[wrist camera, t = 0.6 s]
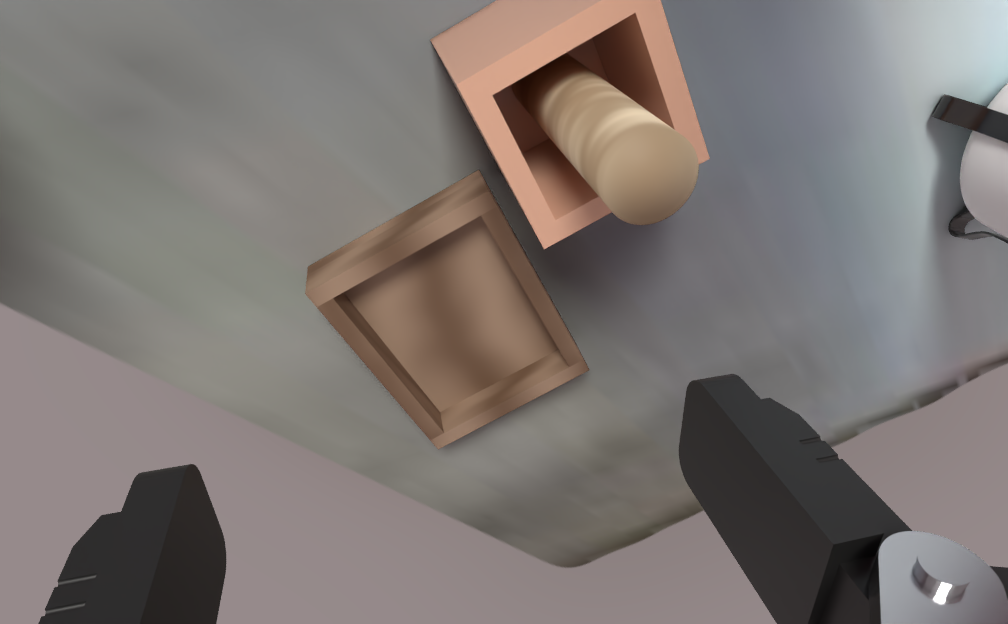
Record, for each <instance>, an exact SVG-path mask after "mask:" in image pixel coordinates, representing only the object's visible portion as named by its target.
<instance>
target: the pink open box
mask: <svg viewBox="0 0 1008 624" xmlns="http://www.w3.org/2000/svg"><path fill="white" fill-rule="evenodd" d="M431 42H432V44H433V46H434V48H435V50H436V51H437V53H438V55H439V57H440V59H441V61H442V63H443V65H444V66H445V68H446V70H447V72H448V74H449V76H450V78H451V79H452V81H453V83H454V85H455V87H456V89H457V91H458V93H459V94H460V96H461V98H462V100H463V102H464V104H465V106H466V107H467V109H468V111H469V113H470V115H471V117H472V119H473V121H474V122H475V124H476V126H477V128H478V130H479V132H480V134H481V135H482V137H483V139H484V141H485V143H486V145H487V147H488V149H489V150H490V152H491V154H492V156H493V158H494V160H495V162H496V163H497V165H498V167H499V169H500V171H501V173H502V175H503V176H504V178H505V180H506V182H507V184H508V185H509V187H510V189H511V191H512V193H513V194H514V196H515V198H516V200H517V202H518V203H519V205H520V207H521V209H522V210H523V212H524V214H525V216H526V218H527V219H528V221H529V223H530V225H531V227H532V228H533V230H534V232H535V234H536V235H537V237H538V239H539V241H540V243H541V244H542V246H543V248H544V249H546V248H548V247H549V246H551V245H553V244H555V243H557V242H558V241H560V240H562V239H564V238H566V237H568V236H569V235H571V234H573V233H575V232H577V231H579V230H580V229H582V228H584V227H586V226H588V225H589V224H591V223H593V222H595V221H597V220H599V219H600V218H602V217H604V216H606V215H608V214H610V213H611V212H612V211H611V210H610V209H609V208H608V207H607V205H606V204H605V203H604V202H603V201H602V199H601V198H600V197H599V196H598V195H597V193H596V192H595V191H594V190H593V189H592V188H591V186H590V185H589V184H588V183H587V182H586V180H585V179H584V178H583V177H582V176H581V174H580V173H579V172H578V171H577V170H576V168H575V167H574V166H573V165H572V164H571V163H570V161H569V160H568V159H567V158H566V157H565V155H564V154H563V153H562V152H561V151H560V149H559V148H558V147H557V146H556V145H555V144H554V142H553V141H552V140H551V139H550V138H549V136H548V135H547V134H546V133H545V132H544V130H543V129H542V128H541V127H540V126H539V125H538V123H537V122H536V121H535V120H534V119H533V117H532V116H531V115H530V114H529V113H528V111H527V110H526V109H525V108H524V107H523V105H522V104H521V103H520V102H519V101H518V99H517V98H516V97H515V95H514V93H513V90H512V87H511V84H513V83H514V82H516V81H518V80H520V79H521V78H523V77H525V76H527V75H528V74H530V73H532V72H533V71H535V70H537V69H539V68H540V67H542V66H544V65H546V64H547V63H549V62H551V61H553V60H554V59H556V58H558V57H559V56H561V55H563V54H565V53H567V54H569V55H570V56H572V57H573V58H574V59H576V60H577V61H579V62H580V63H581V64H583V65H584V66H586V67H587V68H588V69H590V70H591V71H593V72H594V73H595V74H597V75H598V76H600V77H601V78H602V79H604V80H605V81H607V82H608V83H609V84H611V85H612V86H614V87H615V88H616V89H618V90H619V91H621V92H622V93H623V94H625V95H626V96H628V97H629V98H630V99H632V100H633V101H635V102H636V103H638V104H639V105H640V106H642V107H643V108H645V109H646V110H647V111H649V112H650V113H652V114H653V115H654V116H656V117H657V118H659V119H660V120H661V121H663V122H664V123H666V124H667V125H668V126H670V127H671V128H673V129H674V130H675V131H677V132H678V133H680V134H681V135H682V136H684V137H685V138H686V139H687V140H688V141H689V142H690V143H691V144H692V146H693V147H694V149H695V152H696V154H697V158H698V165H699V164H701V163H703V162H704V161H706V160H708V159H710V158H709V155H708V151H707V148H706V145H705V142H704V139H703V135H702V132H701V129H700V126H699V122H698V119H697V116H696V113H695V110H694V106H693V103H692V100H691V97H690V93H689V90H688V87H687V84H686V81H685V77H684V74H683V71H682V68H681V64H680V61H679V58H678V55H677V52H676V48H675V45H674V42H673V39H672V35H671V32H670V29H669V26H668V22H667V19H666V16H665V13H664V10H663V6H662V3H661V0H496V1H495V2H493V3H491V4H490V5H488V6H486V7H485V8H483V9H481V10H480V11H478V12H476V13H474V14H473V15H471V16H469V17H468V18H466V19H464V20H463V21H461V22H459V23H458V24H456V25H454V26H453V27H451V28H449V29H447V30H446V31H444V32H442V33H441V34H439V35H437V36H436V37H434V38H432V39H431Z"/></svg>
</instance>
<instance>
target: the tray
mask: <svg viewBox="0 0 1008 624" xmlns="http://www.w3.org/2000/svg"><path fill="white" fill-rule="evenodd" d="M305 294H306V295H307V296H308V298H309V299H310V300H311V301H312V302H313V303H314V305H315V306H316V307H317V308H318V309H319V310H320V312H321V313H322V314H323V315H324V316H325V318H326V319H327V320H328V321H329V322H330V323H331V325H332V326H333V327H334V328H335V329H336V330H337V332H338V333H339V334H340V335H341V336H342V337H343V339H344V340H345V341H346V342H347V343H348V344H349V346H350V347H351V348H352V349H353V350H354V351H355V353H356V354H357V355H358V356H359V357H360V358H361V360H362V361H363V362H364V363H365V364H366V366H367V367H368V368H369V369H370V370H371V371H372V373H373V374H374V375H375V376H376V377H377V378H378V380H379V381H380V382H381V383H382V384H383V385H384V387H385V388H386V389H387V390H388V391H389V392H390V394H391V395H392V396H393V397H394V398H395V399H396V401H397V402H398V403H399V404H400V405H401V406H402V408H403V409H404V410H405V411H406V412H407V414H408V415H409V416H410V417H411V418H412V419H413V421H414V422H415V423H416V424H417V425H418V426H419V428H420V429H421V430H422V431H423V432H424V433H425V435H426V436H427V437H428V438H429V439H430V440H431V442H432V443H433V444H434V445H435V446H436V447H437V449H440V448H442V447H444V446H446V445H447V444H449V443H451V442H453V441H455V440H457V439H459V438H461V437H463V436H465V435H467V434H468V433H470V432H472V431H474V430H476V429H478V428H480V427H482V426H484V425H486V424H488V423H489V422H491V421H493V420H495V419H497V418H499V417H501V416H503V415H505V414H507V413H508V412H510V411H512V410H514V409H516V408H518V407H520V406H522V405H524V404H526V403H528V402H529V401H531V400H533V399H535V398H537V397H539V396H541V395H543V394H545V393H547V392H549V391H550V390H552V389H554V388H556V387H558V386H560V385H562V384H564V383H566V382H568V381H570V380H571V379H573V378H575V377H577V376H579V375H581V374H583V373H585V372H587V371H589V368H588V366H587V364H586V362H585V360H584V358H583V356H582V354H581V352H580V351H579V349H578V347H577V345H576V343H575V341H574V339H573V337H572V336H571V334H570V332H569V330H568V328H567V327H566V325H565V323H564V321H563V319H562V318H561V316H560V314H559V312H558V310H557V309H556V307H555V305H554V303H553V301H552V300H551V298H550V296H549V294H548V293H547V291H546V289H545V287H544V285H543V284H542V282H541V280H540V278H539V276H538V275H537V273H536V271H535V269H534V267H533V266H532V264H531V262H530V260H529V258H528V257H527V255H526V253H525V251H524V250H523V248H522V246H521V244H520V242H519V241H518V239H517V237H516V235H515V233H514V232H513V230H512V228H511V226H510V224H509V223H508V221H507V219H506V217H505V215H504V214H503V212H502V210H501V208H500V207H499V205H498V203H497V201H496V199H495V198H494V196H493V194H492V192H491V190H490V189H489V187H488V185H487V183H486V181H485V180H484V178H483V176H482V174H481V172H480V171H479V170H478V171H476V172H474V173H472V174H470V175H469V176H467V177H465V178H463V179H462V180H460V181H458V182H456V183H455V184H453V185H451V186H449V187H448V188H446V189H444V190H442V191H440V192H439V193H437V194H435V195H433V196H432V197H430V198H428V199H426V200H425V201H423V202H421V203H419V204H418V205H416V206H414V207H412V208H411V209H409V210H407V211H405V212H403V213H402V214H400V215H398V216H396V217H395V218H393V219H391V220H389V221H388V222H386V223H384V224H382V225H381V226H379V227H377V228H375V229H373V230H372V231H370V232H368V233H366V234H365V235H363V236H361V237H359V238H358V239H356V240H354V241H352V242H351V243H349V244H347V245H345V246H343V247H342V248H340V249H338V250H336V251H335V252H333V253H331V254H329V255H328V256H326V257H324V258H322V259H321V260H319V261H317V262H315V263H314V264H312V265H310V266H308V272H307V282H306V291H305Z"/></svg>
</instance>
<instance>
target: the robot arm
mask: <svg viewBox="0 0 1008 624" xmlns="http://www.w3.org/2000/svg"><path fill="white" fill-rule="evenodd" d="M679 459H680V465H681V469H682V472H683V475H684V478H685V480H686V482H687V484H688V485H689V487H690V489H691V490H692V492H693V493H694V495H695V496H696V498H697V500H698V501H699V503H700V504H701V506H702V507H703V509H704V511H705V512H706V514H707V515H708V516H709V518H710V520H711V521H712V523H713V525H714V526H715V527H716V529H717V531H718V532H719V534H720V535H721V537H722V538H723V540H724V542H725V543H726V545H727V546H728V548H729V549H730V551H731V553H732V554H733V556H734V557H735V559H736V560H737V562H738V564H739V565H740V566H741V568H742V570H743V571H744V573H745V574H746V576H747V578H748V579H749V581H750V582H751V584H752V585H753V587H754V588H755V590H756V592H757V593H758V595H759V596H760V598H761V599H762V601H763V603H764V604H765V606H766V607H767V609H768V610H769V612H770V613H771V615H772V617H773V618H774V620H775V621H776V623H777V624H1008V568H1004V567H993V566H989V565H988V564H987V563H986V562H985V561H984V560H982V559H981V558H980V557H978V556H977V555H976V554H975V553H973V552H972V551H970V550H969V549H967V548H966V547H964V546H962V545H960V544H958V543H956V542H954V541H952V540H950V539H947V538H945V537H942V536H939V535H935V534H932V533H927V532H919V531H912V530H911V529H910V528H909V527H908V526H907V525H906V524H905V523H904V522H903V521H902V520H901V519H900V518H899V517H898V516H897V515H896V514H895V513H894V512H893V511H892V510H891V509H890V508H889V507H888V506H887V505H886V504H885V502H884V501H882V499H881V498H880V497H879V496H878V495H877V494H876V493H875V492H874V491H873V490H872V489H871V488H870V487H869V486H868V485H867V484H866V483H865V482H864V481H863V480H862V479H861V478H860V477H859V476H858V475H857V474H856V473H855V472H854V471H853V470H852V469H851V468H850V467H849V466H848V464H847V463H846V462H845V461H844V460H843V459H840V460H839V459H838V454H837V453H836V452H835V451H834V450H833V449H832V448H831V447H830V446H829V445H828V444H827V443H826V442H825V441H821V439H820V436H819V435H818V434H817V433H816V432H815V431H814V430H813V429H812V427H811V426H810V425H809V424H808V423H807V422H806V421H805V420H804V419H803V418H802V417H801V416H800V415H799V414H797V413H795V412H793V411H792V410H790V409H788V408H787V407H785V406H783V405H781V404H780V403H778V402H776V401H774V400H773V399H771V398H766V399H760V398H759V397H758V396H757V395H756V394H755V393H754V391H753V390H752V389H751V388H750V387H749V386H748V385H747V384H746V383H745V382H744V381H743V380H742V379H741V378H740V377H739V376H737V375H735V374H729V375H723V376H717V377H712V378H706V379H700V380H694V381H691V382H690V383H689V385H688V387H687V391H686V398H685V405H684V413H683V421H682V428H681V436H680V444H679ZM225 572H226V548H225V541H224V536H223V533H222V530H221V527H220V525H219V522H218V519H217V516H216V514H215V511H214V508H213V506H212V503H211V501H210V498H209V495H208V492H207V490H206V487H205V484H204V482H203V479H202V476H201V474H200V471H199V470H198V468H197V467H196V466H195V465H193V464H190V465H184V466H178V467H172V468H166V469H160V470H154V471H149V472H142V473H139V474H138V475H137V476H136V477H135V479H134V481H133V483H132V485H131V488H130V490H129V493H128V495H127V498H126V501H125V503H124V506H123V508H122V511H121V512H117V513H112V514H106V515H102V516H100V517H99V519H98V520H97V521H96V522H95V523H94V524H93V525H92V526H91V527H90V528H89V530H88V531H87V532H86V533H85V534H84V535H83V536H82V537H81V538H80V540H79V541H78V542H77V543H76V544H75V545H74V546H73V548H72V550H71V553H70V554H69V557H68V559H67V561H66V564H65V566H64V568H63V570H62V572H61V575H60V577H59V579H58V587H55V588H54V590H53V592H52V595H51V597H50V599H49V601H48V604H47V606H46V608H45V611H46V614H45V616H43V617H41V619H40V622H39V624H216V621H217V615H218V611H219V605H220V600H221V595H222V589H223V584H224V578H225Z"/></svg>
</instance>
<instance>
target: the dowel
mask: <svg viewBox="0 0 1008 624" xmlns="http://www.w3.org/2000/svg"><path fill="white" fill-rule="evenodd" d="M511 87H512V90H513V93H514V95H515V97H516V98H517V99H518V101H519V102H520V103H521V104H522V105H523V107H524V108H525V109H526V110H527V111H528V113H529V114H530V115H531V116H532V117H533V119H534V120H535V121H536V122H537V123H538V125H539V126H540V127H541V128H542V129H543V130H544V132H545V133H546V134H547V135H548V136H549V138H550V139H551V140H552V141H553V142H554V144H555V145H556V146H557V147H558V148H559V149H560V151H561V152H562V153H563V154H564V155H565V157H566V158H567V159H568V160H569V161H570V163H571V164H572V165H573V166H574V167H575V168H576V170H577V171H578V172H579V173H580V174H581V176H582V177H583V178H584V179H585V180H586V182H587V183H588V184H589V185H590V186H591V188H592V189H593V190H594V191H595V192H596V193H597V195H598V196H599V197H600V198H601V199H602V201H603V202H604V203H605V204H606V205H607V207H608V208H609V209H610V210H611V211H612V212H613V214H614V215H616V216H617V217H618V218H619V219H621V220H623V221H625V222H627V223H630V224H635V225H648V224H653V223H657V222H659V221H662V220H664V219H666V218H668V217H669V216H671V215H673V214H674V213H675V212H676V211H678V210H679V209H680V208H681V207H682V206H683V205H684V203H685V202H686V201H687V200H688V198H689V197H690V195H691V193H692V191H693V189H694V187H695V185H696V181H697V177H698V169H699V165H698V158H697V154H696V152H695V149H694V147H693V146H692V144H691V143H690V142H689V141H688V140H687V139H686V138H685V137H684V136H682V135H681V134H680V133H678V132H677V131H675V130H674V129H673V128H671V127H670V126H668V125H667V124H666V123H664V122H663V121H661V120H660V119H659V118H657V117H656V116H654V115H653V114H652V113H650V112H649V111H647V110H646V109H645V108H643V107H642V106H640V105H639V104H638V103H636V102H635V101H633V100H632V99H630V98H629V97H628V96H626V95H625V94H623V93H622V92H621V91H619V90H618V89H616V88H615V87H614V86H612V85H611V84H609V83H608V82H607V81H605V80H604V79H602V78H601V77H600V76H598V75H597V74H595V73H594V72H593V71H591V70H590V69H588V68H587V67H586V66H584V65H583V64H581V63H580V62H579V61H577V60H576V59H574V58H573V57H572V56H570V55H569V54H567V53H565V54H563V55H561V56H559V57H558V58H556V59H554V60H553V61H551V62H549V63H547V64H546V65H544V66H542V67H540V68H539V69H537V70H535V71H533V72H532V73H530V74H528V75H527V76H525V77H523V78H521V79H520V80H518V81H516V82H514V83H513V84H511Z"/></svg>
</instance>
